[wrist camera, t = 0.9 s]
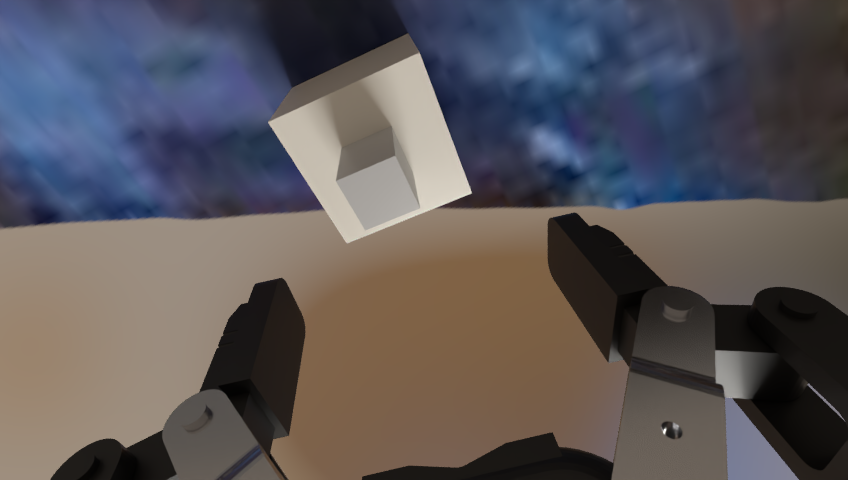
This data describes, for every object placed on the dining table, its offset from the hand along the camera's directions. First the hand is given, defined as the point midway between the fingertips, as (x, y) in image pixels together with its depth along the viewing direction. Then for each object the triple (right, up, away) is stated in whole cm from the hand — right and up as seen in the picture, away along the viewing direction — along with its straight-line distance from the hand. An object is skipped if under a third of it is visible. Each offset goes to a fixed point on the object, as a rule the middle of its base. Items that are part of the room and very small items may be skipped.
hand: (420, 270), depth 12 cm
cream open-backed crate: (-4, +11, +22) cm, 25 cm away
